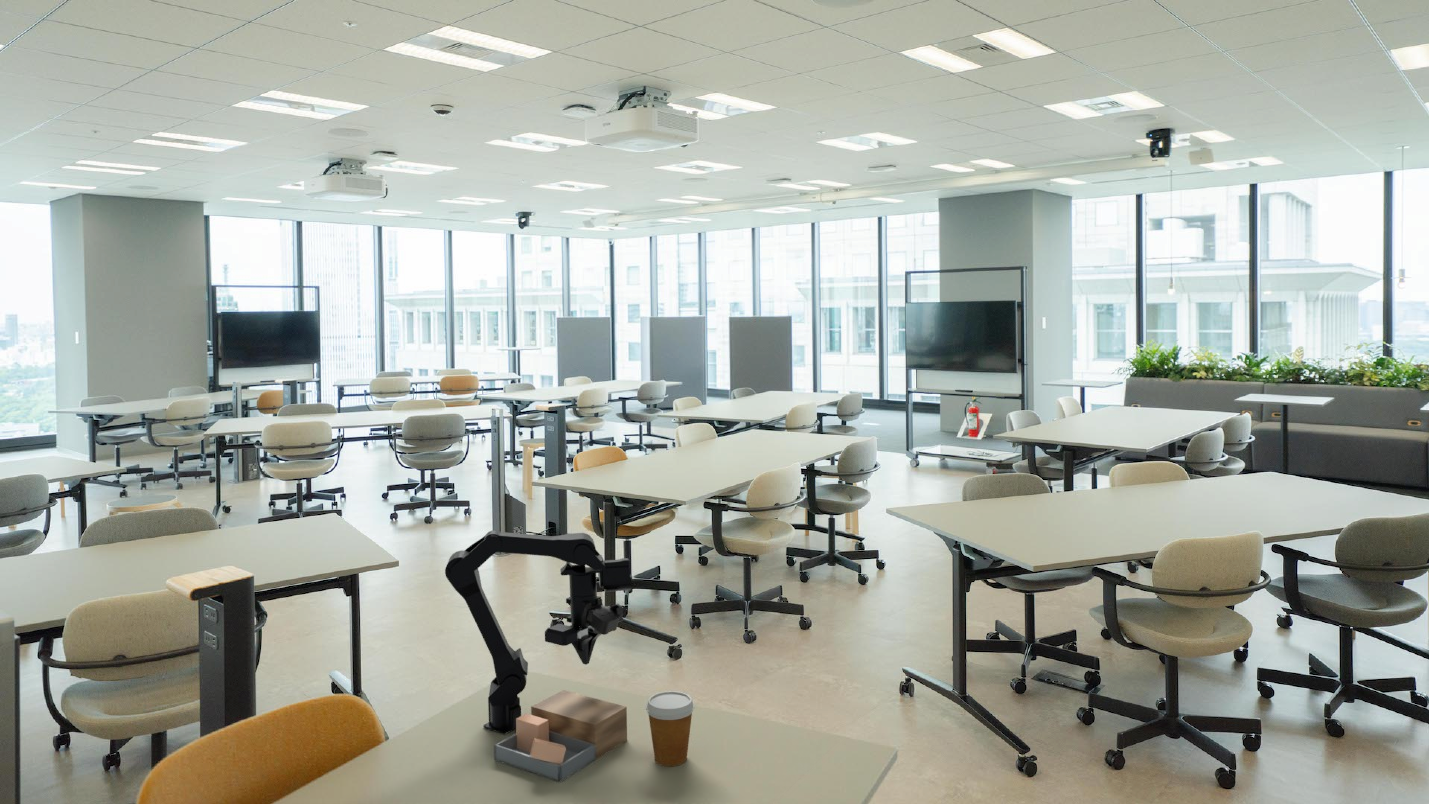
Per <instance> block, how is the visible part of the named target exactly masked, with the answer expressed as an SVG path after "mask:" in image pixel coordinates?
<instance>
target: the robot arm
mask: <svg viewBox="0 0 1429 804" xmlns="http://www.w3.org/2000/svg"><path fill="white" fill-rule="evenodd" d="M496 553H505V554H506V553H507V554H519V555H526V556H527V555H529V556H531V555H532V556H538V557H539V556H542V557H552V558H556V559H557V560H560V561H563V562H565V564H564V565H563V566H562V567H561V568H560V575H561V576H562V577H563V576H569V597H566V598H565V603H566V604H569V605H570V615H569V616H567V617H566V622H567V623H571V624H570V625H565V624H562V623H557V624H555V625H553V626H552V625H551V626H549V627H547V629H546V630H545V631H544V642H546V643H550V644H553V645H558V646H564V647H565V646H569V645H572V646H573V649H574V650H575V652H576V653H577V655H578V658H579V659H580V661H581V663H582V664H583V665H588V664H590V661H591V657H592V654H593V652H594V651H593V650H594V647H595V645H596V642H597V639H598V638H599V637H600V636H601V635H603V636H604V635H608V634H609V633H611V632H615V631H616V630H617V629H618V624H620V623H622V622H623V621H624V619H623V615H624V611H623V606H622V605H621V604H619V603H616V604H613V605H611V606H609V605H608V606H607V605H604V604H603V599H602V596H598V589H597V587H598V586H597V574H598V580H599V581H598V582H599V588H602V590H604V592H605V593H609V592H620V591H632V582H633V581H632V575H631V569H630V560H629V558H627V557H625V558H620V559H619V558H618V559H609V560H608V559H607V560H604V558H603V556H602V554H600V552H598V550H597V549H596V545H595V541H594V539H593V538H592V537H591V535H590V534H588V533H585V532H577V533H576V532H575V533H566V534H561V535H552V536H550V535H538V534H528V533H518V532H517V533H515V532H505V531H498V530H490V531H488V532H487V533H486V534H485V535H484V536H483V537H481V538H480V539H478V540H477V541H475V542H474V543H472V544H471V545H469V546H468V547H467V548H466V549H465V550H459V551H458V550H457V551H455V552H453V553H452V554H451V556H450V557H449V559H448V561H447V564H446V567H445V568H444V574H445V577H446V579H447V581H448V582H449V583H450V585H451V586H452V588H453V590H455V591H456V592H457V593H458V595H460V596H461V598H463V599H464V601H465V603H466V605H467V607H468V609H469V611H470V613H471V616H472V618H473V620H474V621H475V624H476V625H477V628H478V630H479V632H480V635H481V636H482V639H483V641H484V643H485V645H486V647H487V649H488V652H489V654H490V656H491V658H492V663H493V668H494V674H495V677H494V678H493V679H492V680H491V682H490V687H489V693H488V697H487V703H488V708H487V709H488V710H487V711H488V722H486V723H485V724H483V729H487V730H491V731H493V732H496V733H500V734H502V735H506V734H508V733H510V732H512V731H514V730H516V719H517V718H519V717H520V716H522V705H521V704H520V701H521V698H520V697H519V696H518V695H520V693H522V692H523V691H524V690H525V688H526V685H527V680H528V679H527V676H528V674H529V672H528V670H529V663H528V661H527V660H525V658H524V655H523V652H522V649H521V647H520V648H518V649H516V650H514V649H513V647H511V646H510V644H509V643H508V641H507V638H506V636H505V634H504V632H503V629H502V628H501V625H500V623H499V621H498V619H497V617H496V615H495V613H494V611H493V609H492V606H491V604H490V602H489V600H488V598H487V596H486V594H485V591H484V590H483V587H482V582H481V576H480V571H479V568H480V567H482V566H483V564H484V563H485V562H486V561H488V560H489V558H491V557H492V556H493V555H494V554H496Z"/></svg>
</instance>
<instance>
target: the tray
mask: <svg viewBox="0 0 1429 804" xmlns="http://www.w3.org/2000/svg"><path fill="white" fill-rule="evenodd" d="M549 742H553V743H557V744H561V745H564V746H565V747H566V751H565V755H564V758H563V762H562V764H556V763H552V762H548V761H544V760H539V759H535V758H531V757H530V752H528V751H525V750H522V749H519V748H517V738H516V733H515V734H512V735H511V736H508V737H507V738H504V739H503V740H501V741H500V742H499V741H498V742H497V743H496V744H494V745H493V749H494V750H493V754H494V755H493V758H494V761H496V762H498V763H503V764H505V765H508V766H511V767H514V768H517V769H520V770H523V771H526V772H529V773H531V774H535V775H538V776H541V777H544V778H546V779H549V780H552V781H555V782H558V783H561V782H563V781H565V780H566V779H567V778H569V777H571V776H573V774H576V773H577V772H579V771H580V770H581V769H583V768H585V767H586V766H588V765H590V764H591V763H592V762H593V763H594V762H595V761H596V760H597V759H596V745H595V744H592V743H588V742H585V741H582V740H579V739H575V738H572V737H569V736H565V735H562V734H559V733H555V732H552V731H549Z"/></svg>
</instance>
